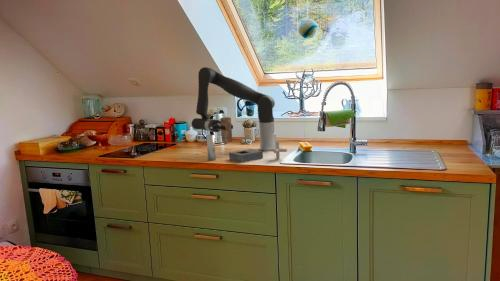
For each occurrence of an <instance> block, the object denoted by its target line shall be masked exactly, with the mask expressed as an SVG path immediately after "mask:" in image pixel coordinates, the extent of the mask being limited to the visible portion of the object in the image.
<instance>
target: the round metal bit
mask: <svg viewBox="0 0 500 281" xmlns="http://www.w3.org/2000/svg"><path fill="white" fill-rule="evenodd" d="M215 139H216V137H215V134H207V135H206V149H207V152H206V153H207V161H209V162H215V161H217V158H216V156H217V154H216V140H215Z"/></svg>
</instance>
